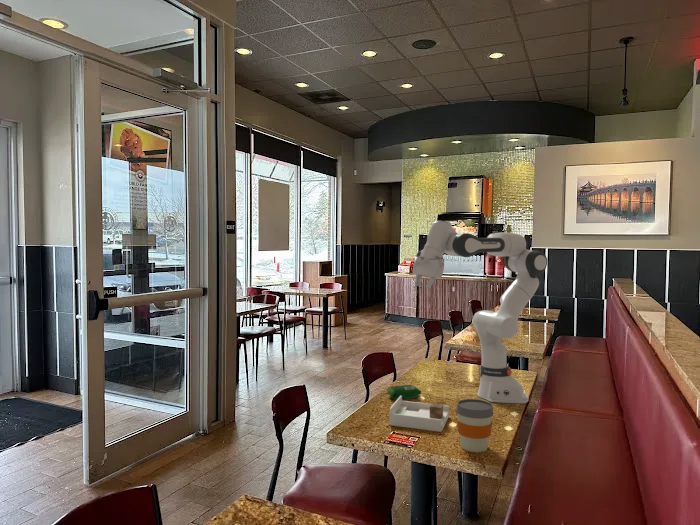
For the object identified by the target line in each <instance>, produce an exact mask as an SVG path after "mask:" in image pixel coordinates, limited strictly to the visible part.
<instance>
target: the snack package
mask: <svg viewBox="0 0 700 525" xmlns="http://www.w3.org/2000/svg"><path fill="white" fill-rule="evenodd" d="M387 394H388V395H389V397H390V398H391V399H394V400H395V401H396V400H397V399H398V398H399V397H400V396H402V400H408V399H409V400H410V399H415V398H418V397H419V395H420V394H422V391H421V390H420V389H419V388H417V387H416V386H415V385H411V384H405V385H403V384H402V385H393V386H391V387H389V389H388V392H387Z"/></svg>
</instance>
